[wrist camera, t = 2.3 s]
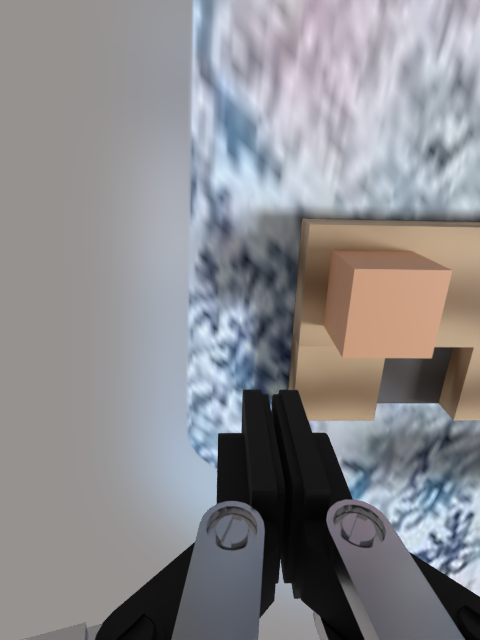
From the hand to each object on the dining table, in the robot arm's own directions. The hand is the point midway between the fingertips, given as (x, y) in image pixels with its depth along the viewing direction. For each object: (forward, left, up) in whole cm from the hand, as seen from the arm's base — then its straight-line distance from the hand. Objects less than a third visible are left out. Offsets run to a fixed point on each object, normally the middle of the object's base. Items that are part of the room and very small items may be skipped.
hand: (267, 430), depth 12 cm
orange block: (0, +8, -14) cm, 16 cm away
